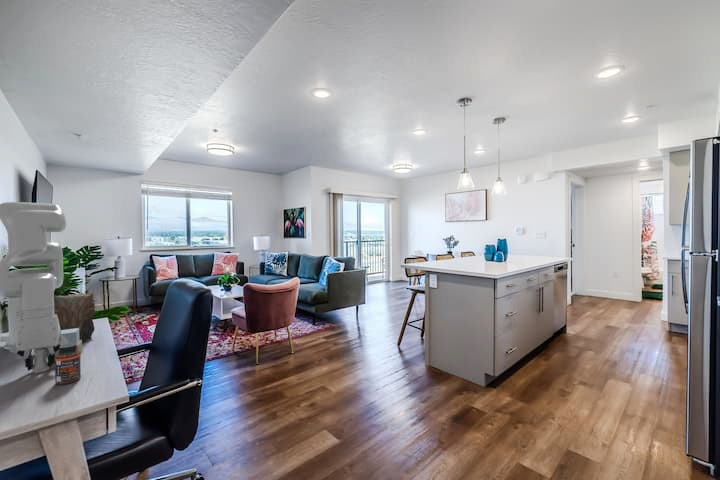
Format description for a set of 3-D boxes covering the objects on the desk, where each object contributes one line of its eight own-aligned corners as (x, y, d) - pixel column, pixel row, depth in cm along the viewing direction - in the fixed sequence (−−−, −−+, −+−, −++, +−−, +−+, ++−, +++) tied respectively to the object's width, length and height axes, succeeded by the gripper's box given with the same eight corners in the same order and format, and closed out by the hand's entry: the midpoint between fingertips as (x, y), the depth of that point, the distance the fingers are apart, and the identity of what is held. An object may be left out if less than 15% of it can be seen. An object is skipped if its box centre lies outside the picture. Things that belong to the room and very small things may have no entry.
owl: (45, 345, 131) (43, 297, 131) (77, 335, 144) (75, 291, 143) (71, 347, 129) (69, 298, 129) (101, 337, 142) (100, 292, 141)
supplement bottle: (59, 387, 95) (57, 350, 95) (52, 382, 99) (51, 346, 98) (84, 379, 100) (83, 344, 100) (77, 375, 104) (76, 340, 103)
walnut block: (53, 363, 114) (52, 349, 114) (57, 356, 120) (57, 343, 120) (78, 358, 118) (78, 345, 118) (82, 352, 124) (81, 339, 124)
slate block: (54, 348, 114) (54, 334, 114) (58, 343, 119) (57, 330, 119) (76, 345, 118) (76, 331, 118) (79, 340, 123) (79, 327, 123)
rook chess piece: (28, 374, 104) (27, 350, 104) (34, 369, 108) (34, 346, 108) (47, 372, 106) (46, 348, 106) (52, 367, 110) (51, 344, 110)
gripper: (-3, 319, 99) (-1, 377, 99) (70, 311, 108) (71, 365, 108) (7, 314, 105) (9, 369, 105) (74, 307, 114) (76, 357, 115)
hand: (40, 366), depth 107 cm, fingers closed on rook chess piece, 4 cm apart
